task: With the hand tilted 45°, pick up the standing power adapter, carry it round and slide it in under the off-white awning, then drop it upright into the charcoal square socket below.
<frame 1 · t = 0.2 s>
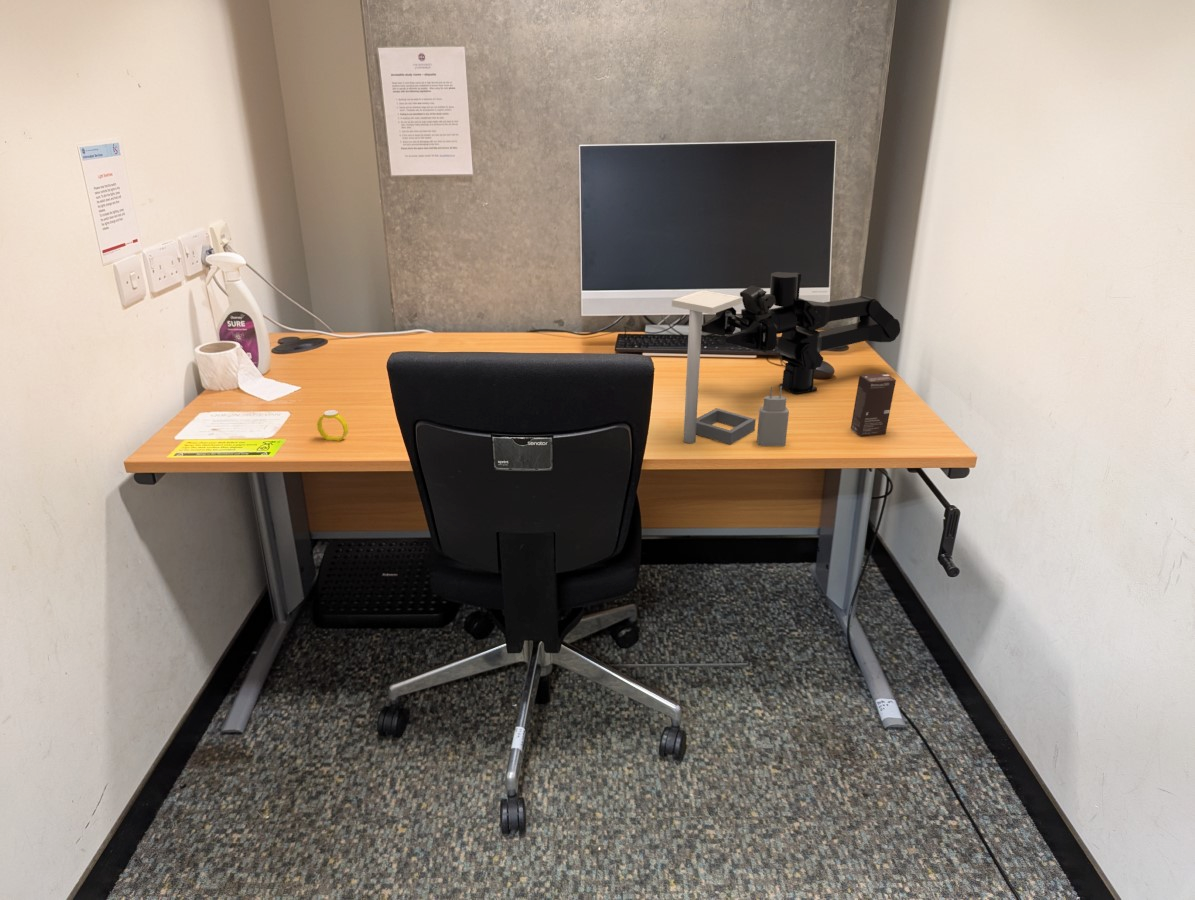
hand: (712, 334, 172), 17 cm above the table, tool horizontal, fingers open, 9 cm apart
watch: (334, 440, 163), on the table
power adapter: (770, 443, 161), on the table
box: (868, 432, 166), on the table
socket awning: (722, 431, 166), on the table
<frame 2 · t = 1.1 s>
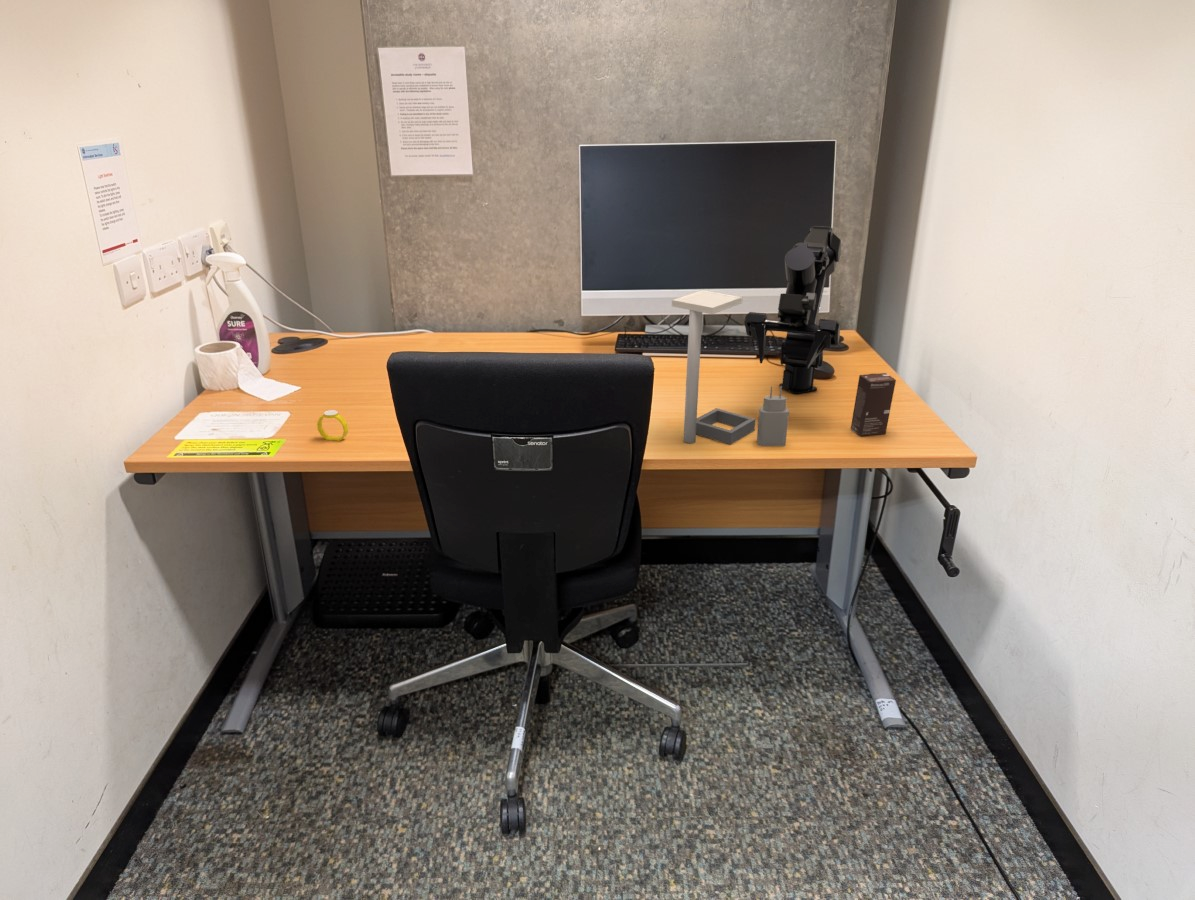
hand: (783, 364, 162), 14 cm above the table, tool tilted 45°, fingers open, 9 cm apart
nothing on the table moved.
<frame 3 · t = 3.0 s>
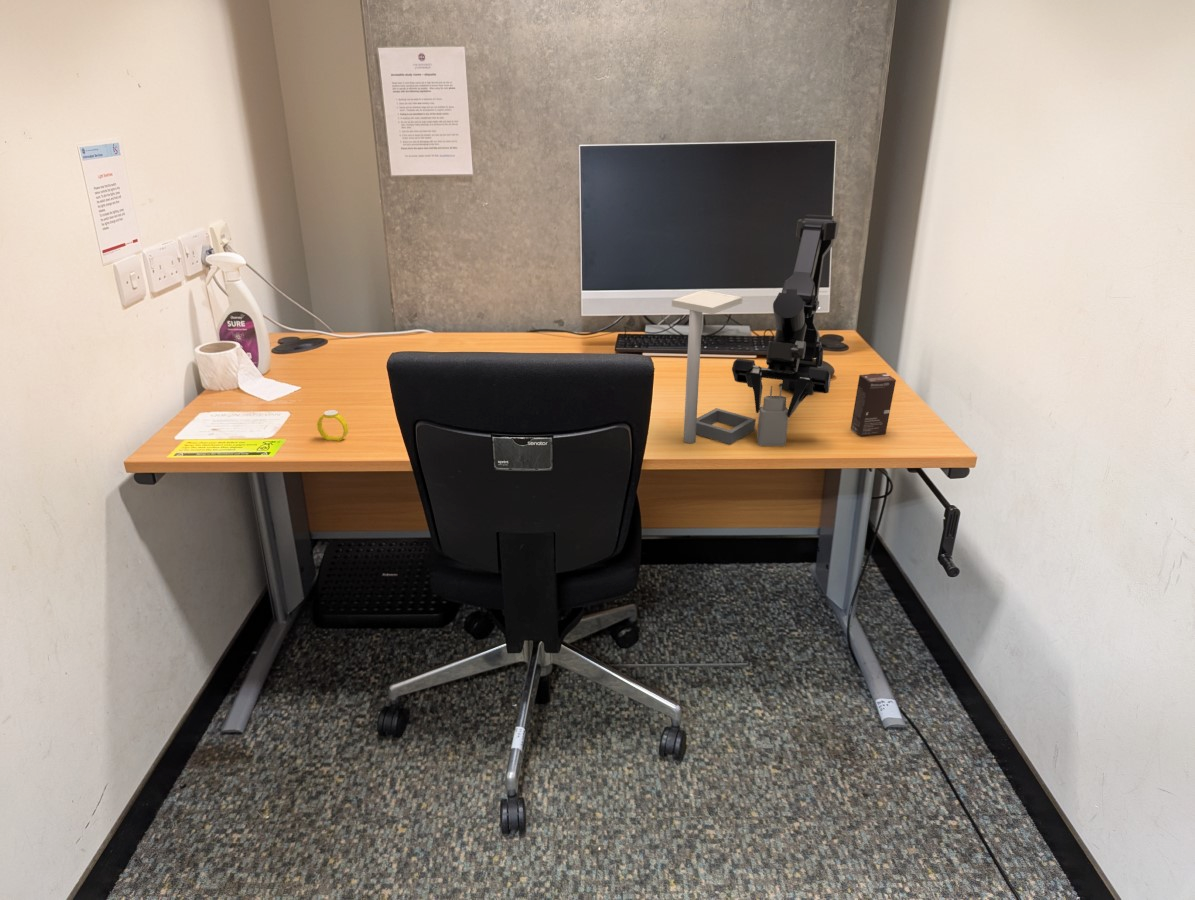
hand: (772, 414, 157), 7 cm above the table, tool tilted 45°, fingers closed on power adapter, 6 cm apart
power adapter: (770, 443, 161), on the table, touching gripper
everything else where it was.
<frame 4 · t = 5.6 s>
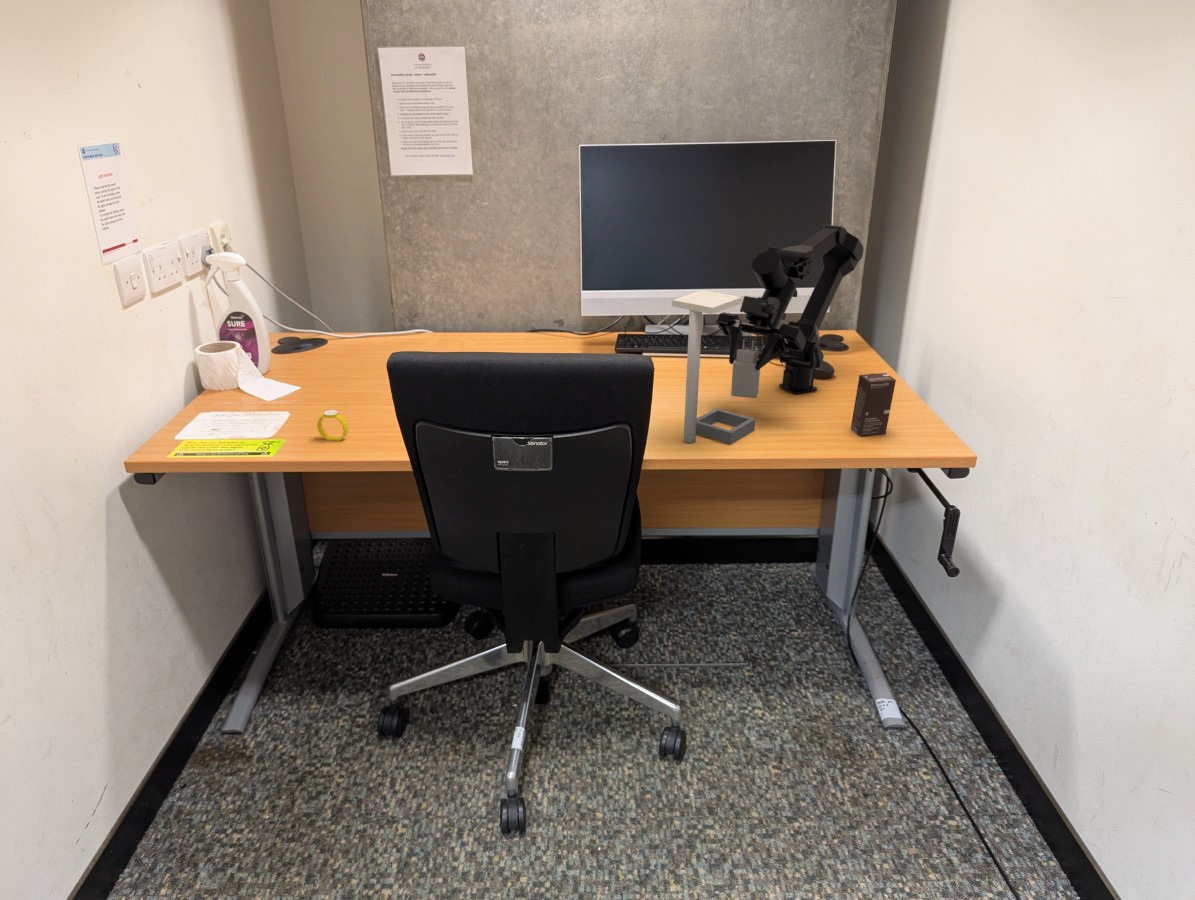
hand: (743, 366, 165), 12 cm above the table, tool tilted 45°, fingers closed on power adapter, 6 cm apart
power adapter: (744, 395, 169), point 6 cm above the table, touching gripper
everything else where it was.
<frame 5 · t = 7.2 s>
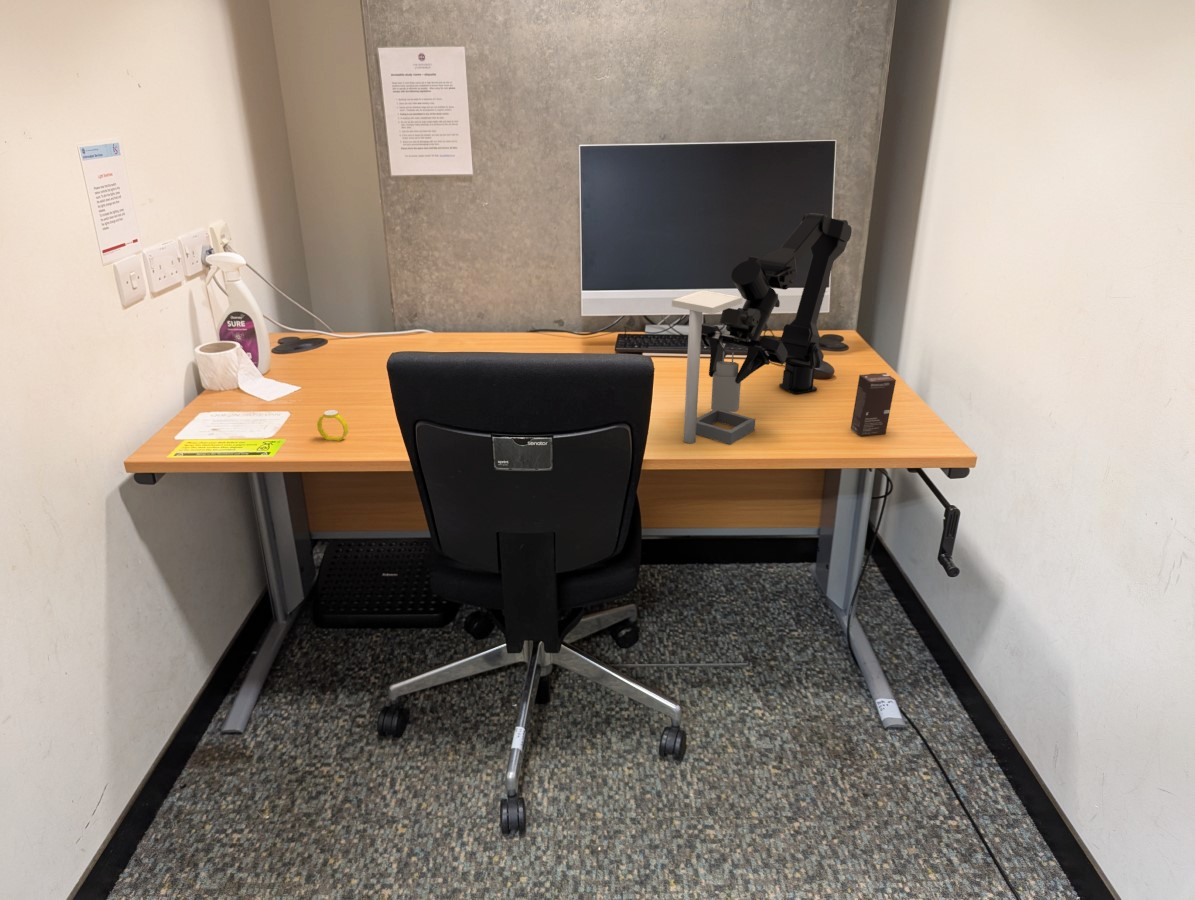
hand: (723, 379, 160), 12 cm above the table, tool tilted 45°, fingers closed on power adapter, 6 cm apart
power adapter: (725, 409, 164), point 5 cm above the table, touching gripper
everything else where it was.
when the fingers open (8 cm above the table, at t = 8.3 s): power adapter drops 2 cm, resting in socket awning.
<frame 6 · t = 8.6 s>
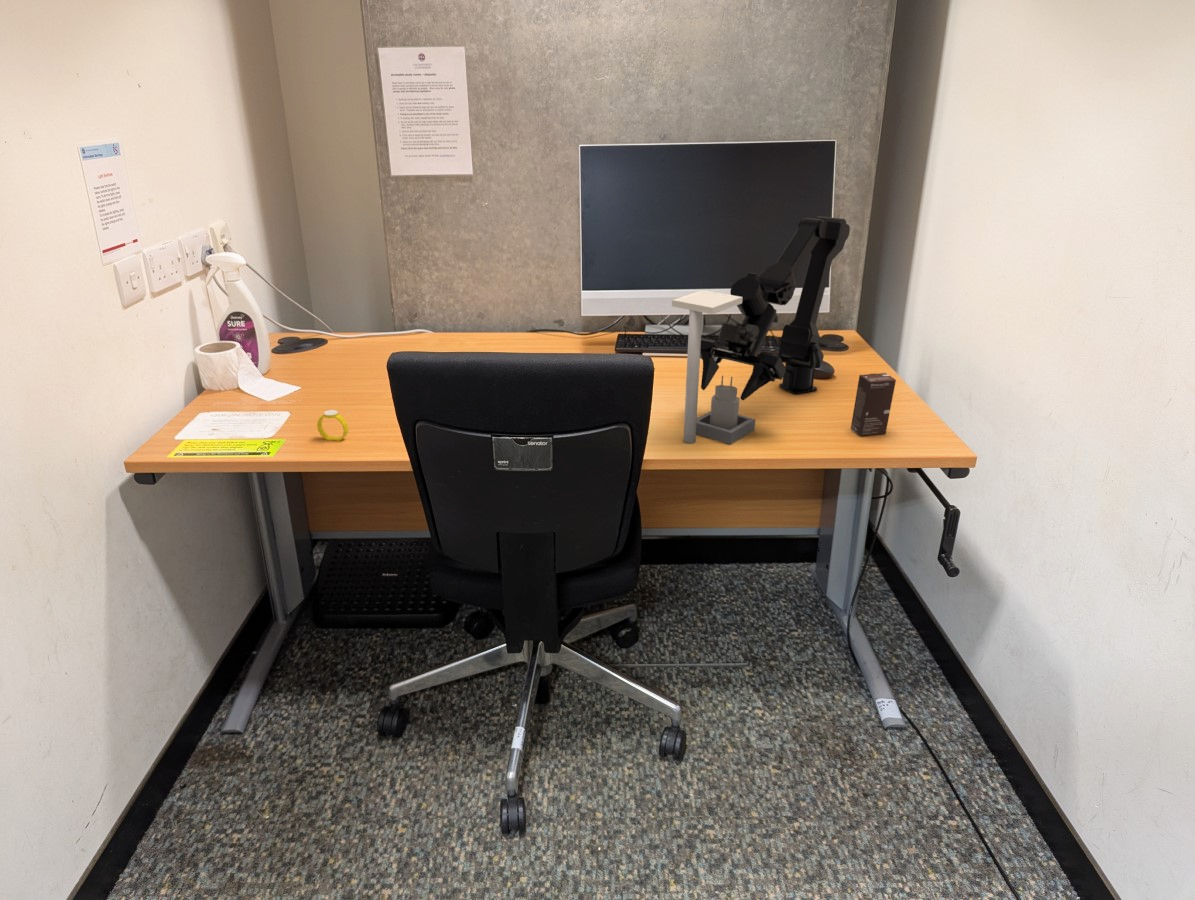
hand: (721, 394, 161), 9 cm above the table, tool tilted 45°, fingers open, 9 cm apart
power adapter: (723, 432, 166), resting in socket awning
everything else where it was.
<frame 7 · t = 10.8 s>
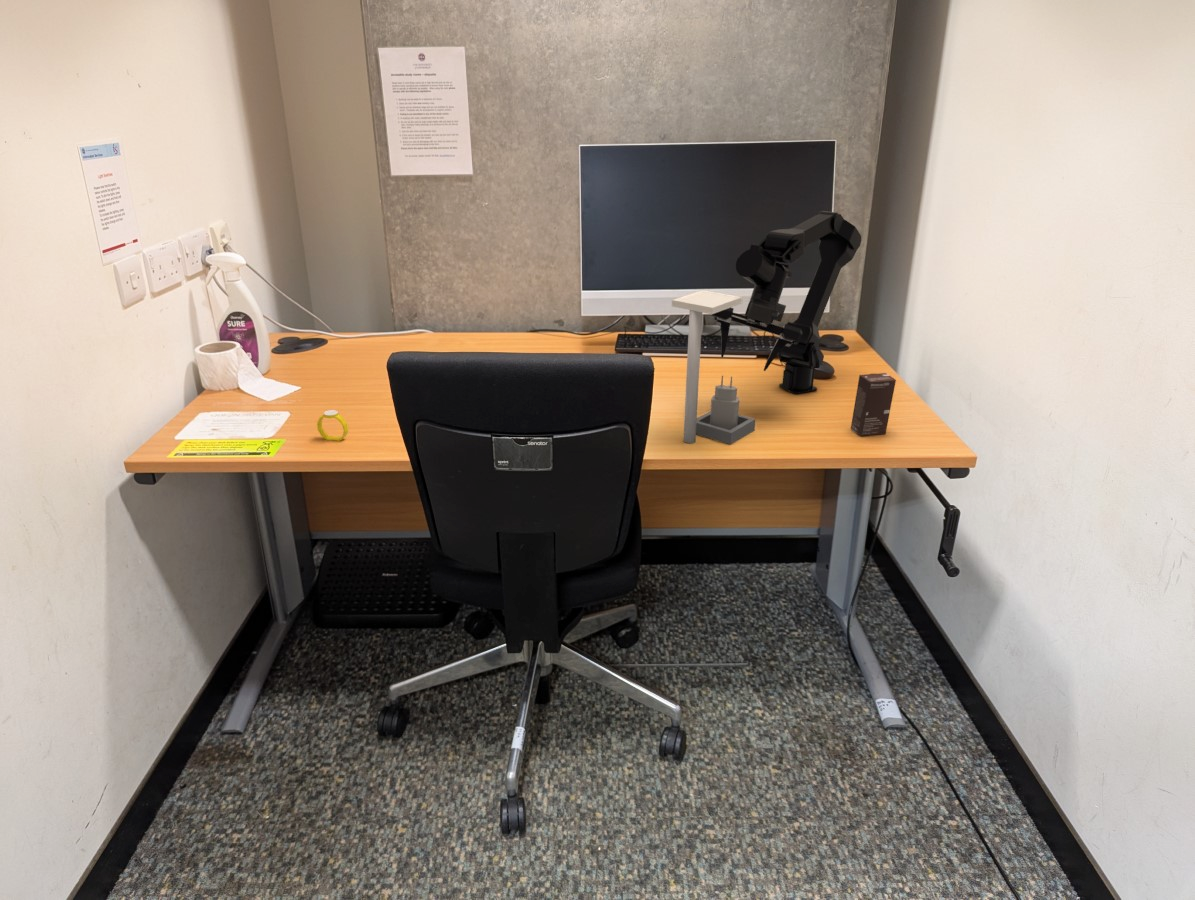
hand: (743, 364, 168), 12 cm above the table, tool tilted 25°, fingers open, 9 cm apart
nothing on the table moved.
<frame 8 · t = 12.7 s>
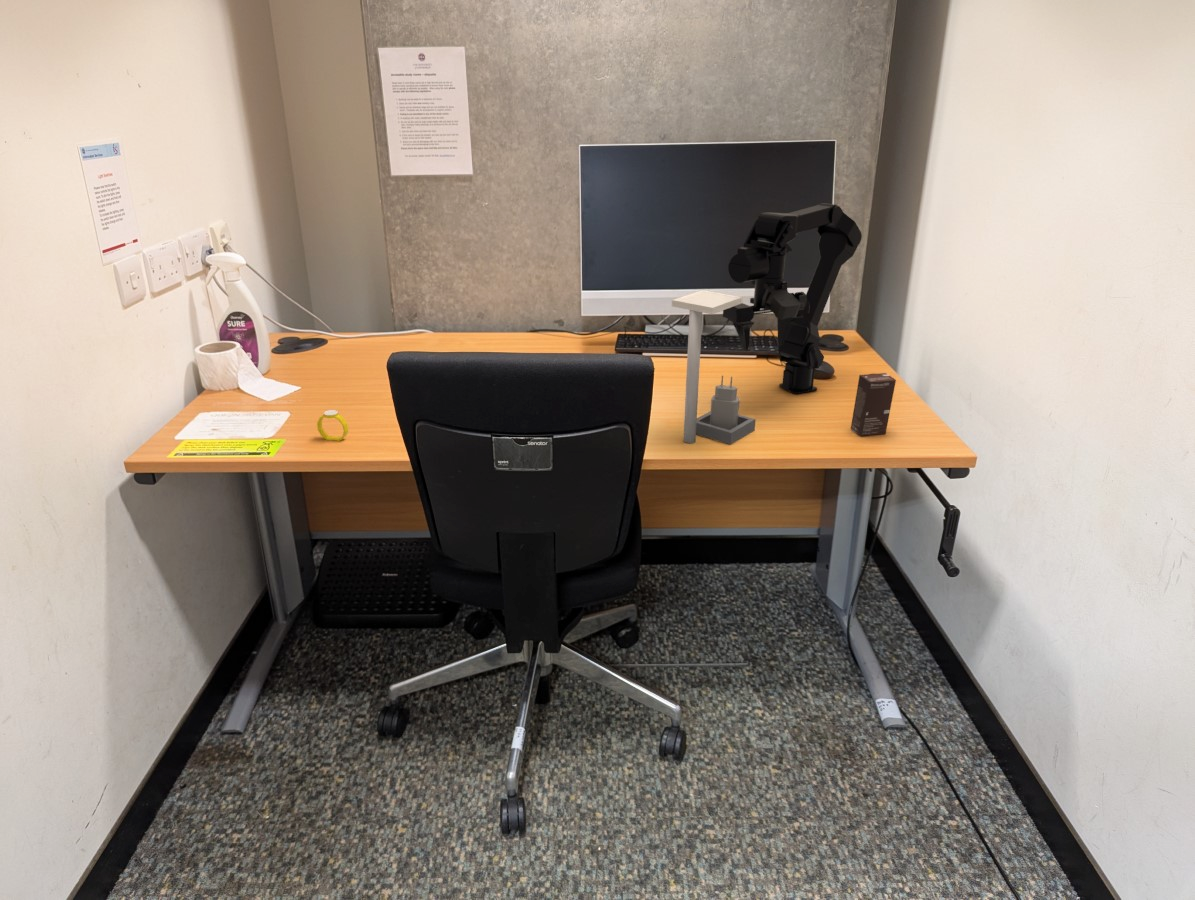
hand: (763, 347, 175), 13 cm above the table, tool pointing down, fingers open, 9 cm apart
nothing on the table moved.
at the end: power adapter 0.2 cm off-centre on the socket awning, point 0.0 cm above the socket awning's base; power adapter tilted 0°; the gripper is holding nothing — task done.
